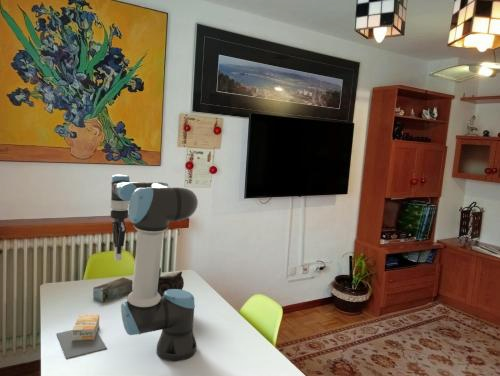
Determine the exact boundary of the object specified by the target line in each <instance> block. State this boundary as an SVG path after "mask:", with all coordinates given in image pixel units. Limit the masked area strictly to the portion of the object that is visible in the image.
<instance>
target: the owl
mask: <svg viewBox="0 0 500 376" xmlns="http://www.w3.org/2000/svg"><path fill="white" fill-rule="evenodd" d="M182 273H183V271H182V270H181V271H177V272H172V273H171V272H170V273H166V274H163V275H161V276H160V277H159V280H158V290H157V292H158V293H159V294H160V296H161V297H163V296H164V295H163V294H164V292H165V291H167V290H169V289H180V290H183V288H184V287H185V285H184V283H185V282H184V278H183V276H182Z"/></svg>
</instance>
